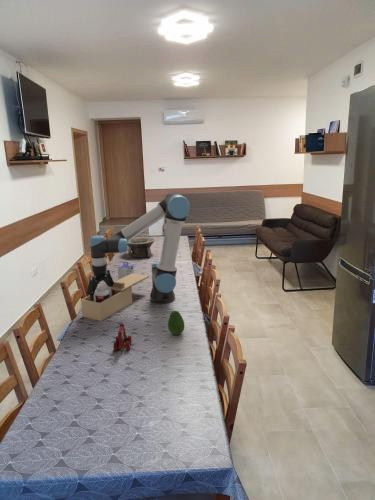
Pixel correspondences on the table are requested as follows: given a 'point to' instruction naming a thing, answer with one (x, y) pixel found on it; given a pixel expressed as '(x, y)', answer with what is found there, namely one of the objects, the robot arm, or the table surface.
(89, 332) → the table surface
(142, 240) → the bowl
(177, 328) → the fruit
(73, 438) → the table surface
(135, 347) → the table surface
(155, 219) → the robot arm
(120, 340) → the red pointed piece
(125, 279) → the lid
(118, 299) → the mailer box
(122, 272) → the ink cartridge box
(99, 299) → the pill bottle
